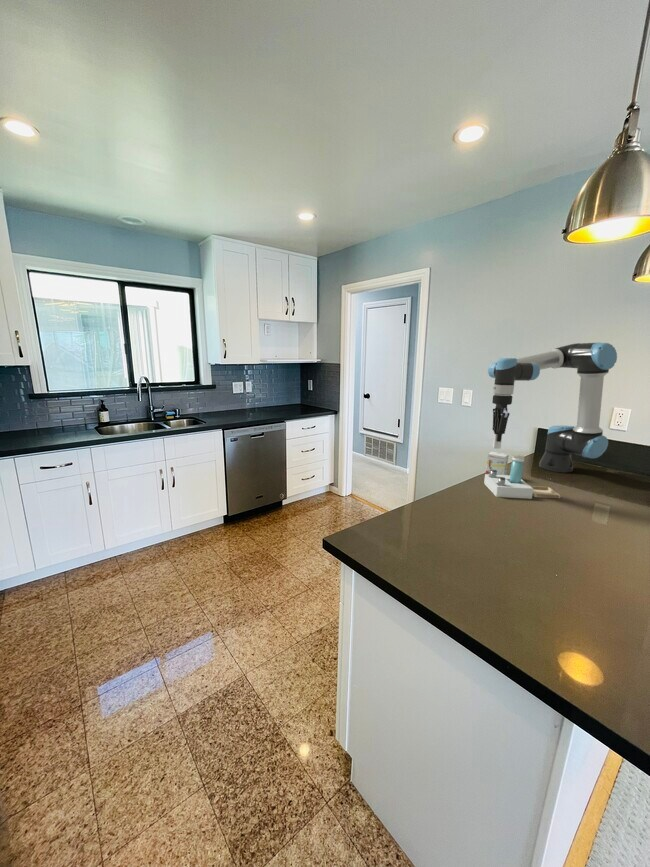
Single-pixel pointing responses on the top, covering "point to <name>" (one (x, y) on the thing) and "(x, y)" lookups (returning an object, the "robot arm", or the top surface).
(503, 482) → the plunger
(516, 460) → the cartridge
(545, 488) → the tray
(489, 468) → the ink box
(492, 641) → the top surface
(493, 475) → the plunger
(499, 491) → the housing
